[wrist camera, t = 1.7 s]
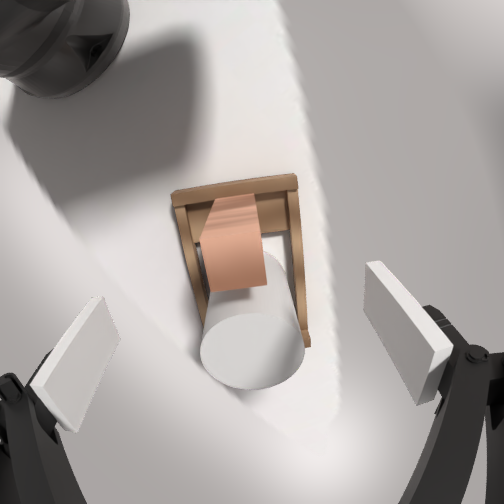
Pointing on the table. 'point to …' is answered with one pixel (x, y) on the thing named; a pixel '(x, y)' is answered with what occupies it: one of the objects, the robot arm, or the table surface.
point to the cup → (253, 333)
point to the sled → (240, 235)
